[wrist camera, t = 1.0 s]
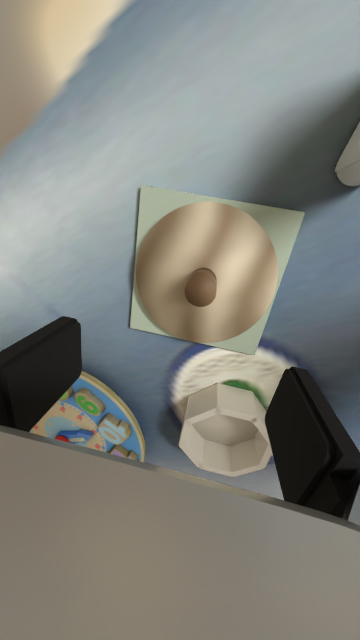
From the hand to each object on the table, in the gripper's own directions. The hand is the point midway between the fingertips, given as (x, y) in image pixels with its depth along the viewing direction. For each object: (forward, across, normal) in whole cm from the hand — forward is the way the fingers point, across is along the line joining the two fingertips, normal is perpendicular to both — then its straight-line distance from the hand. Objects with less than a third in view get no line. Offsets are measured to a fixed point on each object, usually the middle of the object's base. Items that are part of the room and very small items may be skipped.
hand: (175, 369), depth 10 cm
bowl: (+20, -8, +22) cm, 31 cm away
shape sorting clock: (+21, +19, +33) cm, 43 cm away
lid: (+19, 0, 0) cm, 19 cm away
